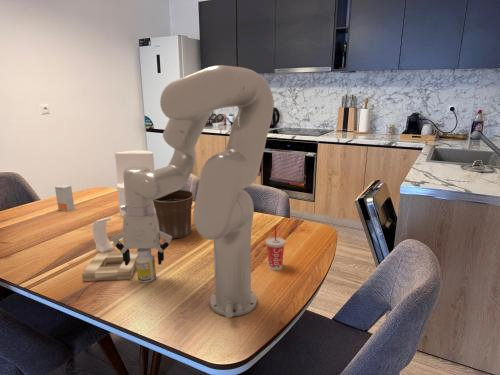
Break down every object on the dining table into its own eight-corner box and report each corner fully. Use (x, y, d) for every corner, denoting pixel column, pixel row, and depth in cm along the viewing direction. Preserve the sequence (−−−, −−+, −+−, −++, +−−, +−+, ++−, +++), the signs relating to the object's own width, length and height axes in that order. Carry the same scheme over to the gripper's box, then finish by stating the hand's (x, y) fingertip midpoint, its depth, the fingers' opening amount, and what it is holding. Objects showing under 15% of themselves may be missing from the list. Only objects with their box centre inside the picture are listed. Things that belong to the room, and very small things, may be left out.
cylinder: (128, 205, 176) (122, 150, 169) (162, 205, 175) (157, 150, 168) (113, 217, 159) (106, 156, 152) (151, 217, 159) (145, 156, 151)
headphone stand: (102, 253, 124) (97, 221, 121) (94, 248, 128) (90, 217, 125) (114, 248, 127) (110, 217, 124) (106, 244, 131) (103, 214, 128)
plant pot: (183, 244, 131) (180, 203, 127) (146, 238, 136) (142, 199, 132) (202, 228, 146) (200, 191, 142) (168, 224, 151) (166, 188, 147)
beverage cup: (264, 270, 111) (264, 229, 107) (266, 261, 117) (266, 222, 113) (284, 272, 110) (285, 230, 106) (285, 262, 116) (285, 223, 112)
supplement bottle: (149, 272, 111) (146, 243, 108) (159, 277, 107) (157, 248, 105) (134, 279, 107) (131, 249, 104) (144, 285, 103) (141, 254, 101)
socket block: (130, 279, 107) (129, 271, 106) (82, 281, 106) (81, 273, 105) (140, 258, 120) (140, 251, 119) (98, 259, 119) (97, 253, 118)
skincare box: (58, 210, 170) (54, 186, 166) (65, 207, 174) (61, 184, 170) (68, 211, 168) (64, 187, 165) (75, 208, 172) (71, 185, 169)
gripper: (105, 214, 97) (110, 269, 102) (168, 213, 98) (171, 268, 103) (113, 205, 104) (118, 257, 109) (172, 204, 105) (174, 256, 110)
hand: (144, 262), depth 106 cm, fingers open, 9 cm apart
